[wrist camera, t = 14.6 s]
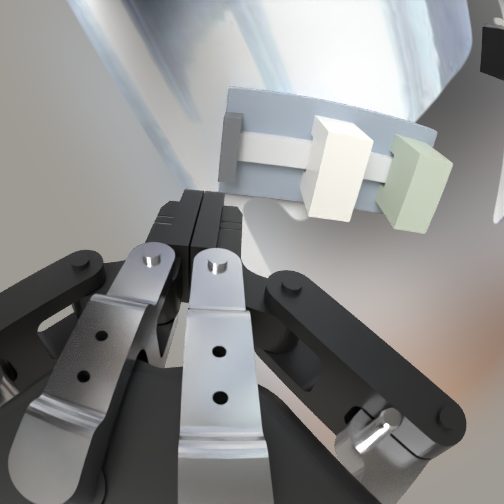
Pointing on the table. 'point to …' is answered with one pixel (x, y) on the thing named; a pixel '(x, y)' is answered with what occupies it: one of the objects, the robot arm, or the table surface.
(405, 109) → the table surface
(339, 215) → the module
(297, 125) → the mounting plate
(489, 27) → the electrical component
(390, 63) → the table surface
